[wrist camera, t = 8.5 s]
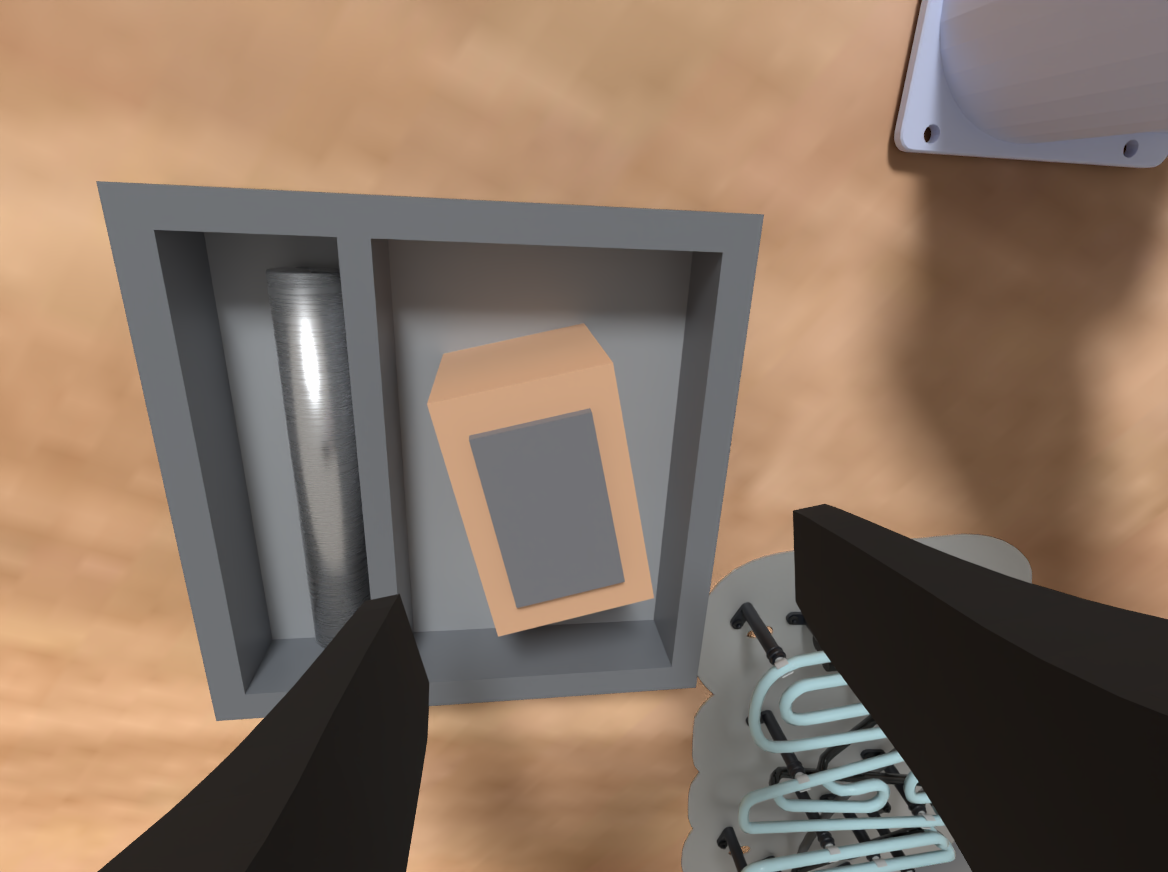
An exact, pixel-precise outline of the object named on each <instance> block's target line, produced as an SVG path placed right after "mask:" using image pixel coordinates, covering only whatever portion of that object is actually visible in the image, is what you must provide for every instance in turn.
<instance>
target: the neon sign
mask: <svg viewBox="0 0 1168 872" xmlns="http://www.w3.org/2000/svg"><path fill="white" fill-rule="evenodd" d="M913 540H915V541H917V542H920V543H922V544H925V545H927V546H930V547H932V548H935V549H937V550H940V551H942V552H945V553H947V554H950V555H952V556H955V557H958V558H960V559H963V560H965V561H968V562H971V563H974V564H976V565H979V566H982V567H985V568H988V569H990V570H993V571H996V572H999V573H1001V574H1004V575H1007V576H1010V577H1013V578H1016V579H1019V580H1022V581H1025V582H1028V583H1032V570H1031V567H1030V564H1029V562H1028V560H1027V559H1026V557H1025V556H1024V555H1023V554H1022V553H1021V552H1020V551H1019V550H1018V549H1016V548H1015V547H1014V546H1012V545H1010V544H1009V543H1007V542H1005V541H1003V540H1001V539H998V538H994V537H991V536H986V535H980V534H953V535H943V536H933V537H923V538H913ZM766 626H770V627H772V633H770V632H769V630H768V628H767V627H766ZM750 631H753V632H754V634H755V636H756V637H749V636H747V633H748V632H750ZM698 677H699V678H700V680H701V681H702V683H703V684H704V685H705V686H706V687H707V688H708V689H709V690H710V691H711V692H712V693H713V695H712V696H711V697H709V698H708V699H707V700H706V701H705V702H704V703H703V704H702V705H701V706H700V708H699V710H698V711H697V713H696V715H695V717H694V725H693V741H692V757H693V762H694V766H695V767H696V768H697V770H698V771H699V772H698V774H697V775H696V777H695V778H694V779H693V781H692V782H691V786H690V789H689V795H688V818H689V821H690V824H691V827H693V828H692V830H691V831H690V833H689V835H688V837H687V839H686V840H685V842H684V846H683V850H682V858H681V864H682V869H683V872H915V870H914V868H917V867H922V866H928V865H934V864H940V863H945V862H950V861H953V860H954V859H955V857H956V853H955V851H954V849H953V847H952V845H951V844H953V842H954V839H953V837H952V836H951V834H950V832H949V831H948V829H947V828H946V826H945V824H944V823H943V821H942V819H941V818H940V816H939V814H938V813H937V811H936V809H935V808H934V806H933V805H932V803H931V801H930V800H929V798H928V796H927V795H926V793H925V791H924V790H923V788H922V786H921V785H920V783H919V782H918V780H917V779H916V777H915V776H914V774H913V773H912V772H911V770H910V769H909V767H908V766H907V764H906V763H905V761H904V760H903V758H902V757H901V756H900V754H899V753H898V752H897V750H896V749H895V748H894V746H893V745H892V744H891V742H890V741H889V740H888V738H887V737H886V735H885V734H884V733H883V731H882V730H881V729H880V727H879V726H878V725H877V723H876V722H875V721H874V719H873V718H872V717H871V715H870V714H869V713H868V711H867V710H866V709H865V707H864V706H863V705H862V703H861V702H860V701H859V699H858V698H857V697H856V695H855V694H854V692H853V691H852V690H851V688H850V687H849V686H848V684H847V683H846V682H845V680H844V679H843V678H842V676H841V675H840V673H839V672H838V671H837V669H836V668H835V667H834V665H833V664H832V663H831V661H830V660H829V658H828V657H827V656H826V654H825V653H824V651H823V650H822V649H821V647H820V645H819V643H818V642H817V640H816V638H815V636H814V635H813V633H812V631H811V629H810V628H809V626H808V624H807V622H806V620H805V618H804V616H803V615H802V613H801V611H800V609H799V607H798V605H797V603H796V602H795V565H794V550H793V551H786V552H779V553H775V554H771V555H767V556H763V557H760V558H757V559H754V560H752V561H749V562H747V563H745V564H743V565H741V566H739V567H737V568H735V569H734V570H733V571H731V572H730V573H729V574H728V575H726V576H725V577H724V578H723V579H722V580H720V581H719V582H718V583H717V585H716V586H715V587H714V588H713V590H712V591H711V592H710V593H709V599H708V606H707V613H706V620H705V627H704V634H703V641H702V648H701V655H700V662H699V669H698ZM742 846H749V847H750V849H749V850H748V851H747V852H746V853H743V852H742V849H741V847H742ZM729 851H730V852H731V854H730V853H729Z"/></svg>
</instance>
